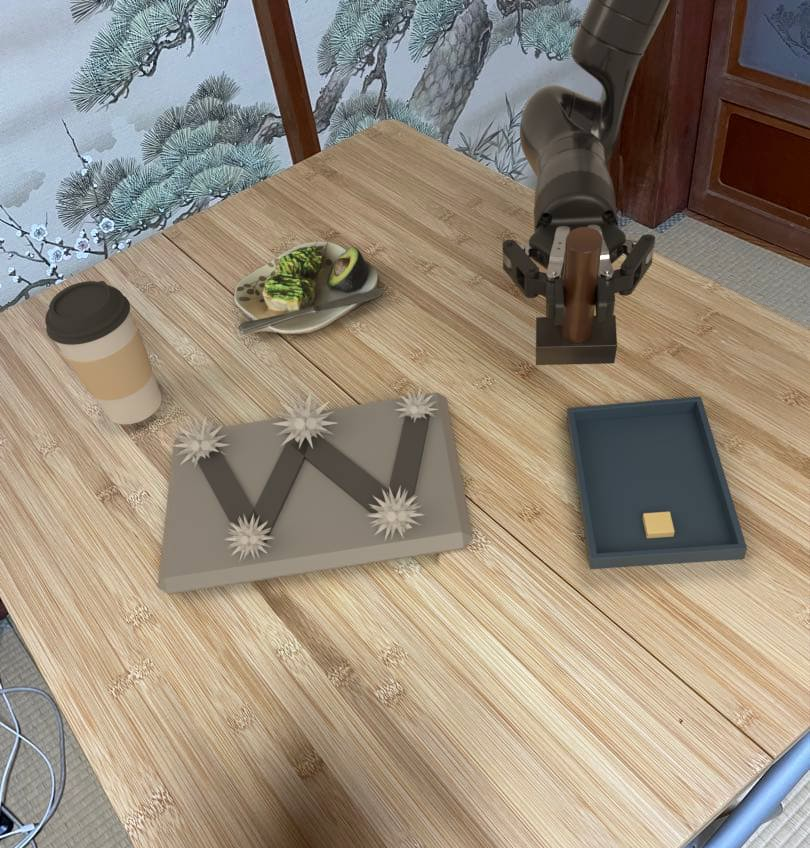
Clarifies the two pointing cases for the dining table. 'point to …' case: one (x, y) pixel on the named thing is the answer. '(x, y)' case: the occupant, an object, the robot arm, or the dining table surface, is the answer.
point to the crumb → (658, 525)
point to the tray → (652, 484)
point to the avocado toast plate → (306, 289)
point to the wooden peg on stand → (578, 310)
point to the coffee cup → (105, 349)
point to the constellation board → (312, 493)
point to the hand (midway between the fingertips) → (580, 314)
